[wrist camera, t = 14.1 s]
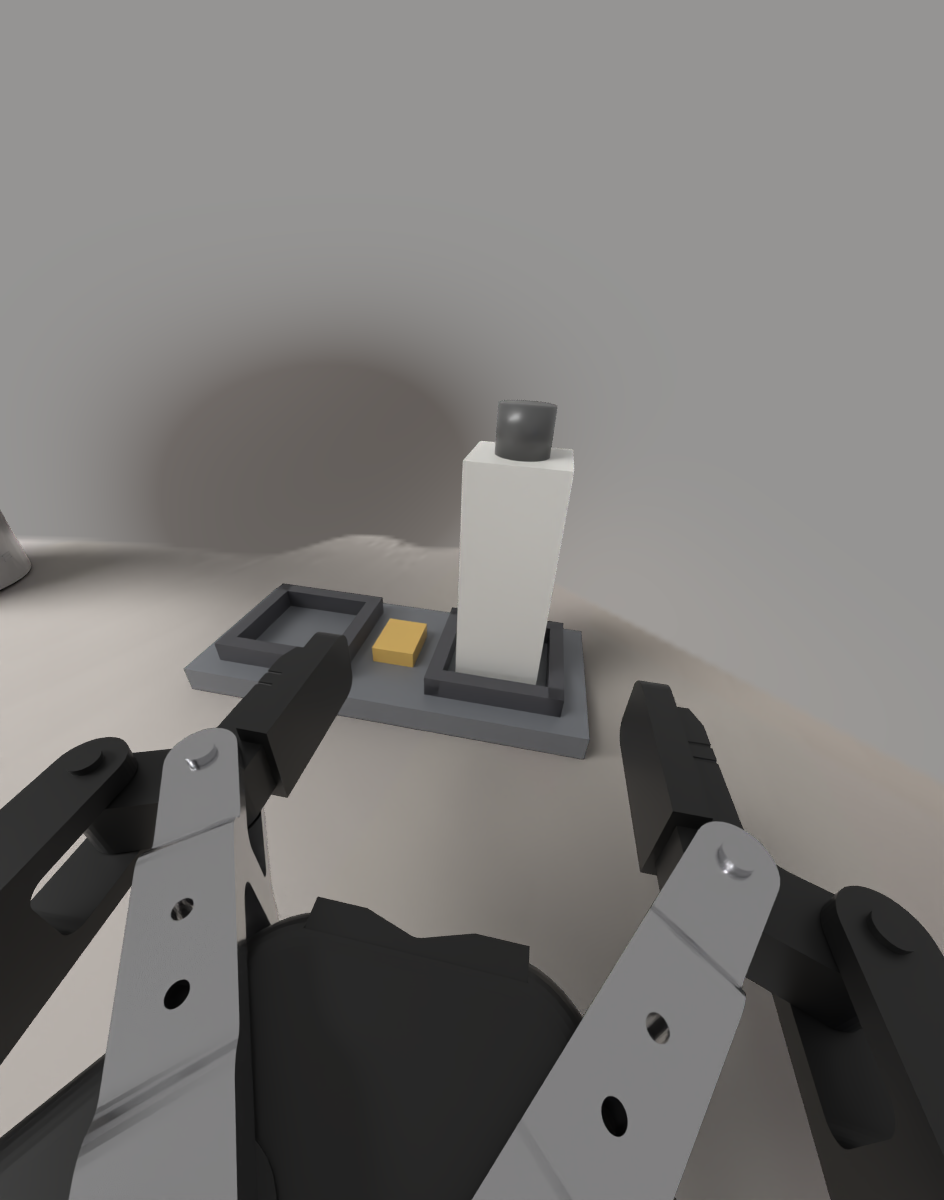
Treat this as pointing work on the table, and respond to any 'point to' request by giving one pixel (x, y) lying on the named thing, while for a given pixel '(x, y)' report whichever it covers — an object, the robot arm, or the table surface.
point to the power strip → (408, 670)
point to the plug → (511, 542)
